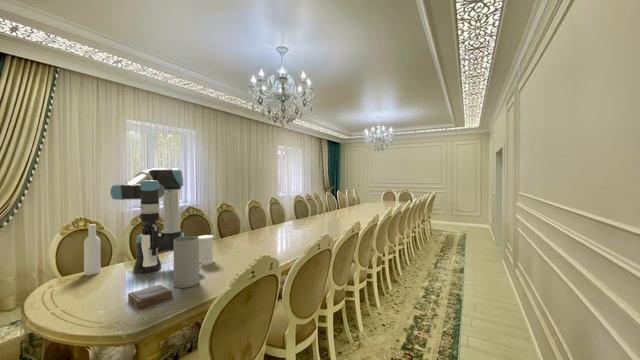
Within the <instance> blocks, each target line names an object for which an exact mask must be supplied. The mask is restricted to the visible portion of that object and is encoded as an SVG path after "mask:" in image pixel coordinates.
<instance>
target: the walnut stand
mask: <svg viewBox="0 0 640 360" xmlns="http://www.w3.org/2000/svg"><path fill="white" fill-rule="evenodd" d="M127 296H128V298H127V300H128V302H129V303H130V304H131V305H132V306H134V308H136V309H137V310H138V311H140V309H141V310H144V309H147V308H149V307H152V306H155V305H157V304H161V303H164V302H167V301H171V300H173V290H170V289H169V288H168V287H165V286H164V285H162V284H157V285H153V286H150V287H146V288H142V289H139V290H136V291H132V292H128V295H127Z"/></svg>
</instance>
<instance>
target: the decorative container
mask: <svg viewBox="0 0 640 360" xmlns="http://www.w3.org/2000/svg"><path fill="white" fill-rule="evenodd" d="M197 237H199V260H201V261H202V266H207V265H208V266H209V265H211V264H212V265H213V264H214V263H215V259H214V254H213V253H214V250H213V248H214V245H213V243H214V241H213V239H214V237H215V236H214V235H212V234H204V235H198V236H197Z"/></svg>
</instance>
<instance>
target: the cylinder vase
mask: <svg viewBox="0 0 640 360" xmlns="http://www.w3.org/2000/svg"><path fill="white" fill-rule="evenodd" d="M199 282H200V272H199V237H198V236H194V235H193V236H189V235H188V236H184V237H180V238H176V239H174V251H173V287H175V288H177V289H186V288H190V287H191V288H192V287H193V286H194V287H195V286H196V285H197V284H199Z"/></svg>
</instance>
